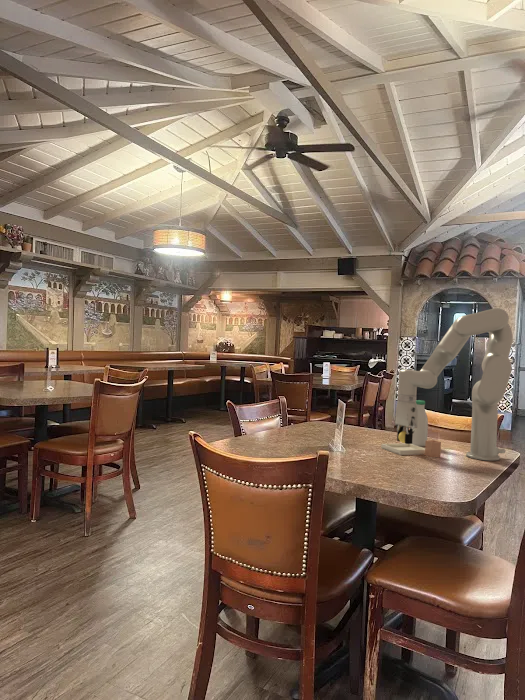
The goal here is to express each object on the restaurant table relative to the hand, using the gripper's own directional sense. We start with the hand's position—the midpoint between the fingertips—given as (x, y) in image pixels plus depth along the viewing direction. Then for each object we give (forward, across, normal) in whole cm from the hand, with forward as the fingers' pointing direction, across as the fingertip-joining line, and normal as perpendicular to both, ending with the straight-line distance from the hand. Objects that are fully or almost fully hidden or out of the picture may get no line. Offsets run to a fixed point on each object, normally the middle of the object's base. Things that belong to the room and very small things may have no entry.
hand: (404, 441), depth 214 cm
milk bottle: (+4, +12, -15) cm, 20 cm away
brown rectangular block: (+4, -11, -6) cm, 13 cm away
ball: (+1, 0, 0) cm, 1 cm away
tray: (+4, 0, 0) cm, 4 cm away
